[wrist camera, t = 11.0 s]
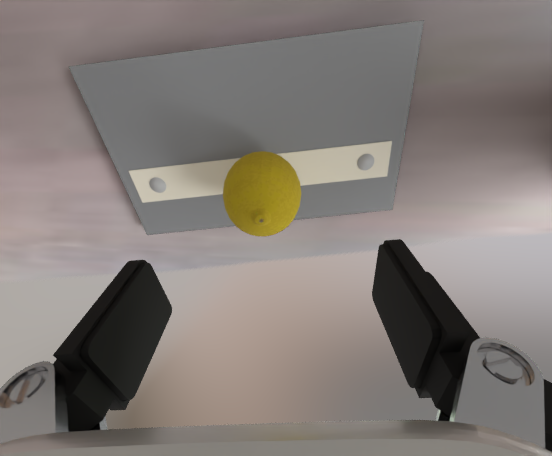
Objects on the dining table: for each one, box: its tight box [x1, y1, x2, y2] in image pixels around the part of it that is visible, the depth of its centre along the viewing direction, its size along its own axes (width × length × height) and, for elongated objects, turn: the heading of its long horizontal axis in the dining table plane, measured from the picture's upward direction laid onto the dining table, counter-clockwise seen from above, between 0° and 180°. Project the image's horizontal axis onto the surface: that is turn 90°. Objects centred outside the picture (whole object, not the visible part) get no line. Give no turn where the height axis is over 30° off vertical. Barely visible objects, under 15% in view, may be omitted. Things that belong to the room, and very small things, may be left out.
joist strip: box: [129, 141, 392, 203], centre depth 21 cm, size 22×3×1 cm, turn 96°
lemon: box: [223, 151, 301, 236], centre depth 18 cm, size 6×6×8 cm
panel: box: [69, 20, 424, 235], centre depth 21 cm, size 24×14×2 cm, turn 96°
